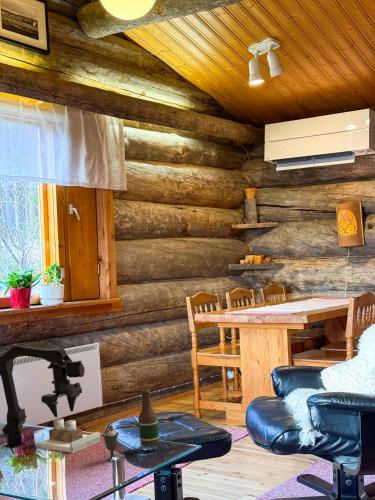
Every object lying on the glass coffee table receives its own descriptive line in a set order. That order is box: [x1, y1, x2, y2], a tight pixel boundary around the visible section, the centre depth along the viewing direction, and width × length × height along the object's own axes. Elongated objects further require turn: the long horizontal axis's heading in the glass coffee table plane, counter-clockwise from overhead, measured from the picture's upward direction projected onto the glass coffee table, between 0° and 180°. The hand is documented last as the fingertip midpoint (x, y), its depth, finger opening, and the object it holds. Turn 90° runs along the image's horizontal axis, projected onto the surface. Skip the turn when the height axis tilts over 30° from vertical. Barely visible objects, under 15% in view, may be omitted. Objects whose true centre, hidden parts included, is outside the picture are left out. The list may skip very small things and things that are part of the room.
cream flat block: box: [39, 431, 101, 454], centre depth 303 cm, size 20×16×4 cm
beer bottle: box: [138, 388, 161, 446], centre depth 286 cm, size 8×8×24 cm
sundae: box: [101, 422, 120, 463], centre depth 277 cm, size 7×7×15 cm
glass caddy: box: [48, 418, 84, 443], centre depth 304 cm, size 14×6×8 cm, turn 53°
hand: (64, 414), depth 304 cm, fingers open, 9 cm apart
